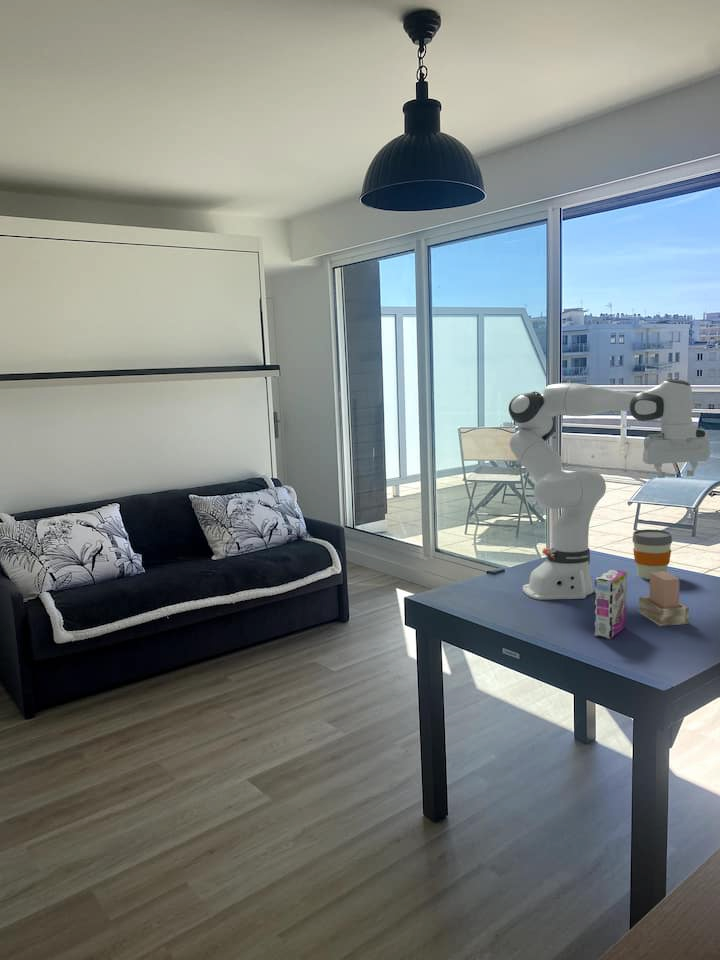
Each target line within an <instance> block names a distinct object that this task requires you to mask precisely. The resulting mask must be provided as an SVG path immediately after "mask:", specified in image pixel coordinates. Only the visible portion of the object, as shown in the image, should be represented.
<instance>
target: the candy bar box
mask: <svg viewBox="0 0 720 960" xmlns="http://www.w3.org/2000/svg"><path fill="white" fill-rule="evenodd" d="M626 600H627V571H623V570H616V569H609V570H607V571H605V572H604V573H603V574H600V575H599V576H598V577H596V578H594V637H598V638H603V639H607V640H612V639H613V638H614V637H616V636H617V635H618V634H619V633H620V632H622V631H623V630H624V629H625V628H626V619H627V618H626V615H627V614H626V613H627V612H626V611H627V610H626V605H627V601H626Z"/></svg>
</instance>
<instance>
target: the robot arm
mask: <svg viewBox="0 0 720 960" xmlns="http://www.w3.org/2000/svg"><path fill="white" fill-rule="evenodd" d="M693 404H694V403H693V390H692V386H691V384H690V383H689V382H688V381H685V380H681V379H673V378H671V379H665V380H664V381H662V382H661V383H659V384H657V385H656V386H655V387H652V388H650V389H646V390H644V391H641V392H631V391H618V390H611V389H606V388H603V387H598V386H594V385H589V384H583V383H576V382H575V383H574V382H559V383H554V384H553V383H552V384H549V385H547V386H546V387H545V388H543V390H542V393H540V392H538V391H536V390H535V391H531V392H524V393H520V394H517V395H516V396H514V397H513V398H512V399H511V400H510V403H508V412H509V416H510V417H511V419H512V420H513V421H514V422H515V424H516V425H517V426H518V429H517V431H515V432H514V433H513V434H512V436H511V437H510V440H509V448H510V450H511V452H512V453H513V455H514V456H515V458H516V459H517V460H518V462H519V463H520V464H521V465H522V467H523V468H524V469H526V471H528V472H529V474H530V475H531V476H532V477H533V478H534V480H535V485H534V487H533V497H534V500H535V502H536V503H537V505H539V506H540V507H541V508H542V509H547V510H548V509H549V510H560V509H563V511H562V512H561V514H560V516H559V517H558V518H557V519H556V520H555V521H554V523H553V526H552V547H551V549H548V548H546V547H545V548H543V549H542V551H541V552H542V554H543V555H545V556H547V558H546V560H544V561H543V562H542V563H541V564H540V565H537V566H536V568H534V569H533V570H532V571H531V572H530V577H529V583H527V584H524V585H522V592H523V593H524V594H525V595H526V596H527V597H530V598H532V599H534V600H573V599H574V600H578V599H579V600H581V599H585V598H587V596H588V595H592V593H594V592H595V588H594V586H593V583H592V580H591V571H590V563H591V552H590V548H589V531H590V530H589V529H590V522H591V519H592V516H593V513H594V511H595V508H596V507H597V504H598V503H599V501H600V500H601V499H602V498H603V497H604V496H605V493H606V491H607V490H606V489H607V485H606V484H607V483H606V481H605V479H604V477H603V475H601V474H600V473H599V472H597V471H593V470H579V471H571V472H566V471H563V470H562V465H563V460H562V459H563V458H562V456H561V455H560V454H559V453H558V452H557V451H556V450H555V449H554V448H553V447H552V446H551V445H550V444H549V443H548V442H547V440H549V439H550V438H551V437H552V436H553V435H554V433H555V431H556V421H555V419H554V417H555V416H562V415H564V416H568V417H569V416H571V417H588V416H594V415H598V414H603V413H607V412H608V413H609V412H615V411H616V412H618V411H622V412H630V414H631V416H632V417H633V418H634V419H635V420H637V421H639V422H643V423H645V422H646V423H648V422H653V421H660V432H659V433H655V434H654V433H649V434H648V435H647V436H645V437H644V439H643V453H642V461H643V462H644V464H646V465H653V466H654V468H655V470H656V472H657V478H658V479H665V478H666V471H665V472H663V470H662V467H663V464H679V463H689V464H690V467H689V469H687V470H686V476H687V477H694V476H695V470H696V469H697V467H698V465H699V464H698V463H699V462H707V461H708V460H709V458H710V456H711V448H710V447H711V446H710V441H709V439H708V436H709V431H708V430H705V429H702V428H698V427H696V426H693V418H692V411H693V406H694V405H693Z"/></svg>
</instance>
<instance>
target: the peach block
mask: <svg viewBox="0 0 720 960" xmlns="http://www.w3.org/2000/svg"><path fill="white" fill-rule="evenodd" d="M649 596H650V598H649V601H650V602H651V603H653V604H655V605H656V606H658V607H659V608H661V609H667V608H678V607H679V603H680V578H678V576H674V575H672V574H670V573H668V571H667V572H665V571H661V572H650V580H649Z"/></svg>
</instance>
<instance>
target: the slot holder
mask: <svg viewBox="0 0 720 960" xmlns="http://www.w3.org/2000/svg"><path fill="white" fill-rule="evenodd" d="M649 598H650V595H649V596H640V597H639V598H638V599H639V601H638V607H639V608H638V612H639V613H640V614H641V615H643V617H646V618H647V619H649V620H650V621H652V622H653V623H655V624H656V625H658V626H659V627H664V626H667V627H668V626H676V625H677V626H678V625H687V624H689V623H690V622H689V621H690V620H689V619H690V618H689V616H690V615H689V613H690V608H689V607H688V606H686V605H684V604H683V603H681V602H679V607H678V608H667V609H661V608H659V607H658V606H656V605H655V604H653V603H651V602H650V601H649Z"/></svg>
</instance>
